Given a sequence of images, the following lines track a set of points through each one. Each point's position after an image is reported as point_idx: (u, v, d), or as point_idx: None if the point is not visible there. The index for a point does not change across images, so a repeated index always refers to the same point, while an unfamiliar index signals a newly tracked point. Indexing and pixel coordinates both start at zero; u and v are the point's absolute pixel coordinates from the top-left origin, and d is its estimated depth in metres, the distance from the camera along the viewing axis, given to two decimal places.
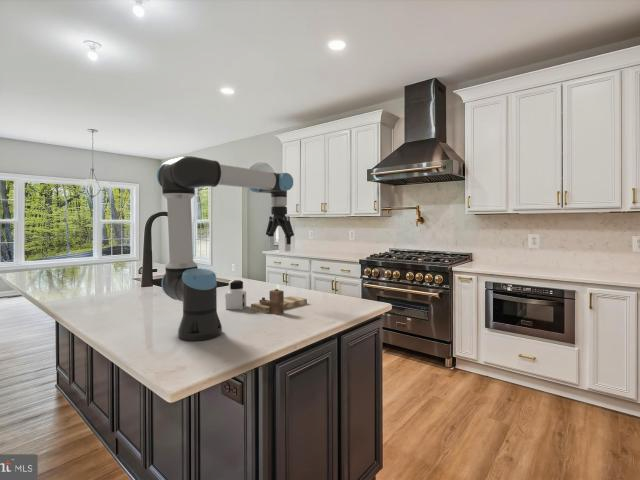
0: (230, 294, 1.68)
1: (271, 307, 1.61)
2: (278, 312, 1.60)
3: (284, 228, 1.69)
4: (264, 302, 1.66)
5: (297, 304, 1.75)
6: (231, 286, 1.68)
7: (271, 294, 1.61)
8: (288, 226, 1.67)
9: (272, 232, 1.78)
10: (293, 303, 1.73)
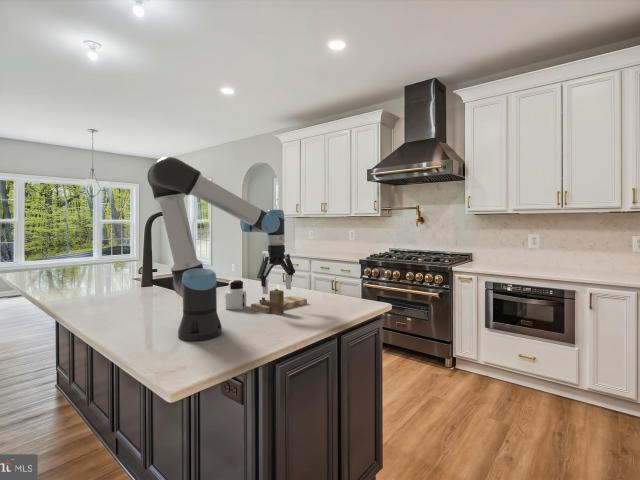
0: (230, 294, 1.68)
1: (271, 307, 1.61)
2: (278, 312, 1.60)
3: (265, 269, 1.58)
4: (264, 302, 1.66)
5: (297, 304, 1.75)
6: (231, 286, 1.68)
7: (271, 294, 1.61)
8: (261, 267, 1.55)
9: (286, 271, 1.66)
10: (293, 303, 1.73)
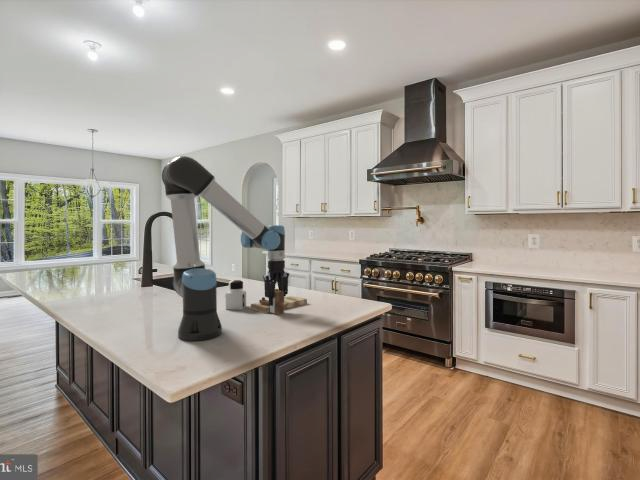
0: (230, 294, 1.68)
1: None
2: (278, 312, 1.60)
3: (269, 287, 1.60)
4: (264, 302, 1.66)
5: (297, 304, 1.75)
6: (231, 286, 1.68)
7: None
8: (265, 287, 1.58)
9: None
10: (293, 303, 1.73)
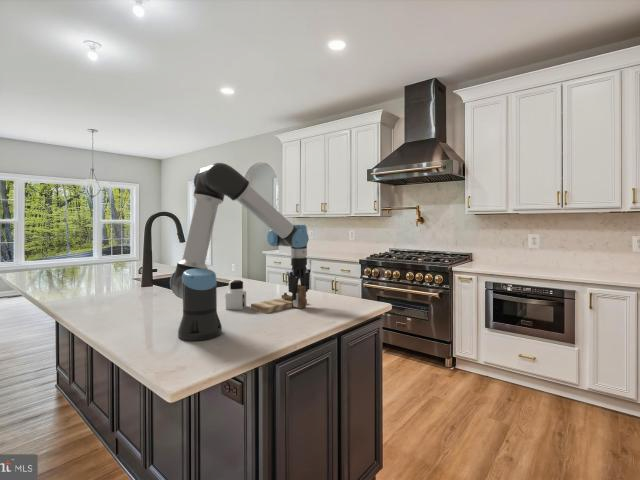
0: (230, 294, 1.68)
1: None
2: (301, 306, 1.70)
3: None
4: (286, 297, 1.76)
5: None
6: (231, 286, 1.68)
7: None
8: (289, 282, 1.68)
9: (302, 285, 1.73)
10: None
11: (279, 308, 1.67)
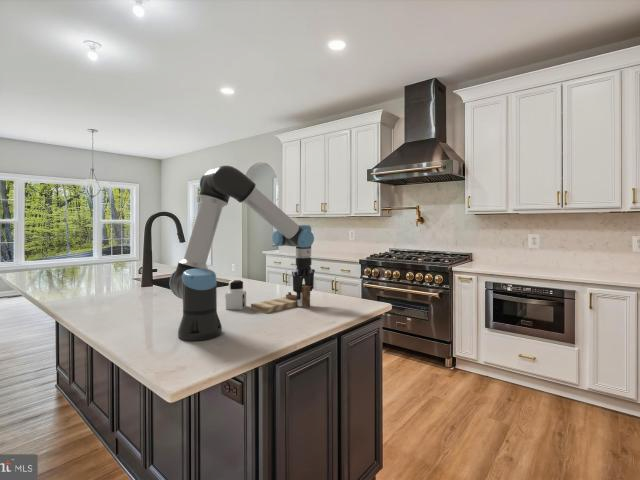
0: (230, 294, 1.68)
1: None
2: (305, 305, 1.72)
3: (297, 282, 1.72)
4: (291, 296, 1.78)
5: None
6: (231, 286, 1.68)
7: None
8: (293, 282, 1.70)
9: None
10: (293, 303, 1.73)
11: (279, 308, 1.67)
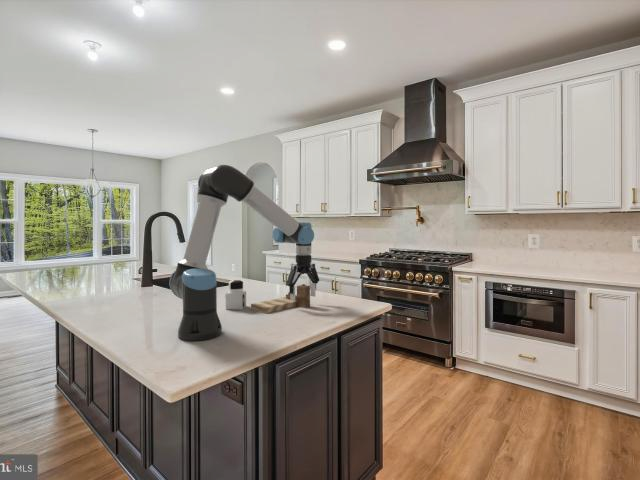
0: (230, 294, 1.68)
1: (298, 301, 1.74)
2: (305, 305, 1.72)
3: (293, 277, 1.70)
4: None
5: None
6: (231, 286, 1.68)
7: (298, 288, 1.73)
8: (289, 275, 1.68)
9: (311, 279, 1.78)
10: (293, 303, 1.73)
11: (279, 308, 1.67)
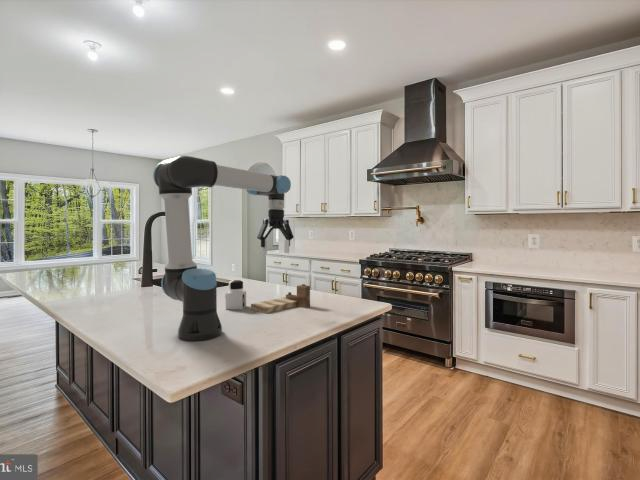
0: (230, 294, 1.68)
1: (298, 301, 1.74)
2: (305, 305, 1.72)
3: (265, 231, 1.69)
4: (291, 296, 1.78)
5: None
6: (231, 286, 1.68)
7: (298, 288, 1.73)
8: (261, 229, 1.67)
9: (285, 235, 1.76)
10: (293, 303, 1.73)
11: (279, 308, 1.67)
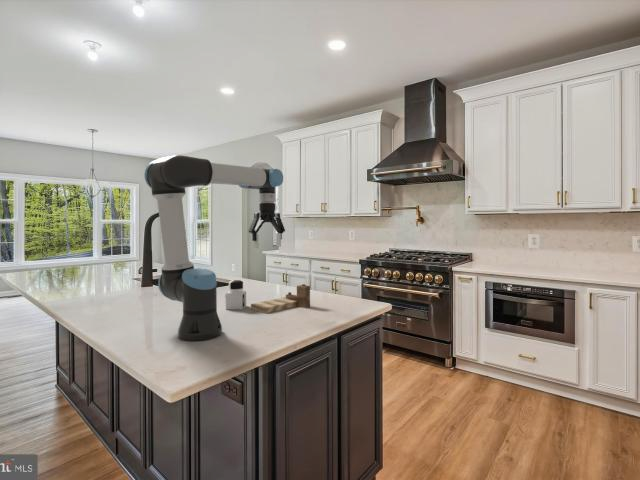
0: (230, 294, 1.68)
1: (298, 301, 1.74)
2: (305, 305, 1.72)
3: (257, 224, 1.69)
4: (291, 296, 1.78)
5: None
6: (231, 286, 1.68)
7: (298, 288, 1.73)
8: (252, 222, 1.66)
9: (276, 229, 1.77)
10: (293, 303, 1.73)
11: (279, 308, 1.67)
